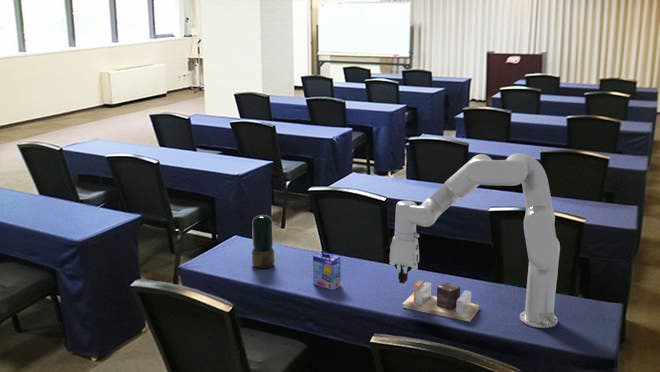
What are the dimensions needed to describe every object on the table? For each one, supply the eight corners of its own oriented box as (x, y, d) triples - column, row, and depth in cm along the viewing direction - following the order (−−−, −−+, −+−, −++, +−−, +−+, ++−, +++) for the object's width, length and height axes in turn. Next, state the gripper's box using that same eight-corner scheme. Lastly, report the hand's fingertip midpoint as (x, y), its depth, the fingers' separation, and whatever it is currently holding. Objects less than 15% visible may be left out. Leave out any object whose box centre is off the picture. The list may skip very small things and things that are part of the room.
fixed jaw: (470, 304, 243) (471, 291, 242) (462, 314, 235) (463, 301, 233) (464, 303, 244) (464, 290, 243) (455, 313, 236) (456, 300, 235)
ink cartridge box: (312, 284, 264) (312, 249, 261) (320, 280, 269) (320, 245, 265) (333, 290, 259) (333, 254, 255) (341, 285, 263) (341, 250, 260)
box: (460, 306, 242) (461, 287, 240) (449, 310, 238) (450, 291, 236) (446, 300, 246) (447, 282, 244) (435, 305, 242) (436, 286, 241)
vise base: (479, 308, 243) (479, 304, 243) (469, 321, 233) (470, 317, 233) (413, 295, 254) (414, 291, 254) (402, 307, 244) (402, 303, 244)
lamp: (248, 263, 286) (247, 214, 281) (269, 260, 290) (268, 211, 285) (257, 271, 278) (255, 220, 272) (278, 267, 282) (277, 217, 277)
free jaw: (430, 295, 250) (431, 280, 248) (421, 305, 241) (422, 289, 240) (420, 293, 252) (421, 278, 250) (411, 303, 243) (411, 287, 242)
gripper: (428, 235, 244) (425, 282, 248) (389, 228, 250) (387, 274, 255) (421, 241, 237) (418, 289, 242) (381, 234, 244) (380, 281, 248)
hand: (402, 282), depth 248 cm, fingers closed
